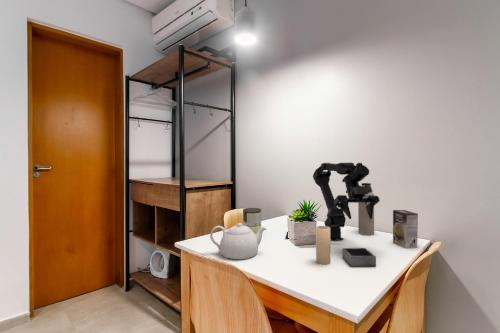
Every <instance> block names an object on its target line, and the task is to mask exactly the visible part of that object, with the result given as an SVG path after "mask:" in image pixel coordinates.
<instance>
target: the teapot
mask: <svg viewBox="0 0 500 333" xmlns="http://www.w3.org/2000/svg"><path fill="white" fill-rule="evenodd" d="M216 229H221V230H222V231H223V232H222V236H221V239H220V243H218V242H217V241H216V240H215V239H214V237H213V234H214V232H215V230H216ZM264 231H267V228H266V227H265V226H261V228H260V229H259V230H258V232H257V234H256V235H255V234H254V233H253V231H252V230H251V229H250V228H249V227H247V226H243V223H241V222H238V223H236V225H233V226H231V227H230V228H227V229H225V227H224V226H222V225H216V226H214V227H213V228H212V229H211V231H210V234H209V238H210V241H211V242H212V243H213V244H214V245H215V246H216V247H217V248H218V250H219V251H220V254H221V256H223V257H224V258H227V259H229V258H230V259H231V260H247V259H251V258H253V257H255V256H256V255H257V254H258V251H259V246H260V245H261V241H262V237H263V232H264Z"/></svg>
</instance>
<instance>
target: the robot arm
mask: <svg viewBox="0 0 500 333" xmlns="http://www.w3.org/2000/svg"><path fill="white" fill-rule="evenodd" d="M332 172H336V173H337V174H339V175H341V176H342V175H343V176H344V177H343V178H342V181H341V182H342V183H344V184H345V188H346V189H345V193H346V194H347V195H345V194H340V195H339V194H338V195H337V196H336V197H334V195H333V191H332V189H331V187H330V185H329V183H330V180H331V178H330V177H331V176H332ZM368 175H370V168H368V167H367V166H366V165H364V164H363V163H362V162H357V163H356V164H355V163H354V162H339V163H331V162H323V163H320V166H319V167H318V168H316V169H315V171H314V172H313V174H312V178H313V180H314V183H315V184H316V185H317V187H320V191H321V193H322V196H323V199H324V202H325V205H326V208H327V213H326V219H325V220H324V223H323V224H324V226H328V227H330V241H340V240H344V237H342V231H341V228H344V227H345V224H346V216H347V218H348V219H349V220H351V219H352V214H351V210H350V207H349V203H353V204H354V203H357V204H358V203H365V205H367V206H366V210H367V213H368V215H369V218H370V219H372V216H373V208H374V209H375V206H376V205H377V204H378V203H379V202H380V201H381V200H380V197H379V196H378V195H374V196H368V197H367V198H363V197H364V196H365V194H368V193H370V192H372V189H373V188H372V186H371V185H372V184H371V185H365V187H361V186H362V185H360V184H359V183H361V181H363V180H364V179H365V178H366V177H368Z"/></svg>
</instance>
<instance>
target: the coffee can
mask: <svg viewBox="0 0 500 333" xmlns="http://www.w3.org/2000/svg"><path fill="white" fill-rule="evenodd" d="M242 216H243V217H242V220H243V223H242V225H243V226H247V227H249V228H250V229H251V230H252V231H253V233H254V234H255V235H256V234H257V232H258V230H259V229H260V228H261V227H262V209H261V208H257V207H248V208H247V207H246V208H244V209H242Z"/></svg>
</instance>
